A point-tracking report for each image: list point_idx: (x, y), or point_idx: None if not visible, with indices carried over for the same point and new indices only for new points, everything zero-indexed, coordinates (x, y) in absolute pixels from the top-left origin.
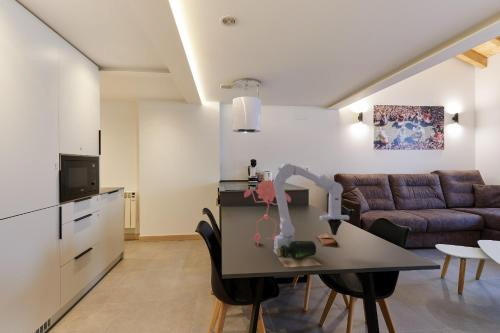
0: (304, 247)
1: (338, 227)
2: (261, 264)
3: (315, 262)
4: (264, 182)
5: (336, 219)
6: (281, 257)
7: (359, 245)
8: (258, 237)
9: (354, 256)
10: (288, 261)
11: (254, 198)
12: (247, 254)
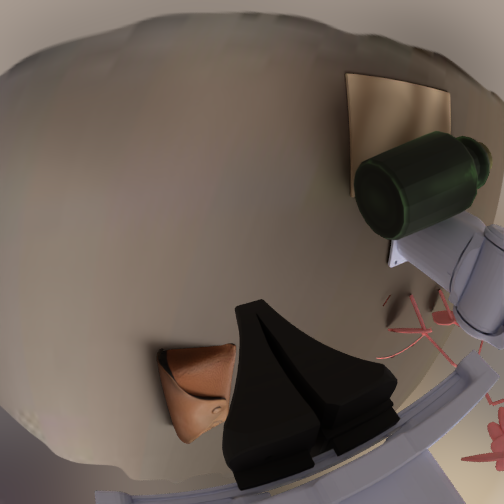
0: (443, 149)
1: (243, 367)
2: (478, 136)
3: (361, 103)
4: None
5: (308, 465)
6: None
7: (55, 370)
8: (448, 311)
9: (90, 214)
10: None
11: None
12: (477, 215)
